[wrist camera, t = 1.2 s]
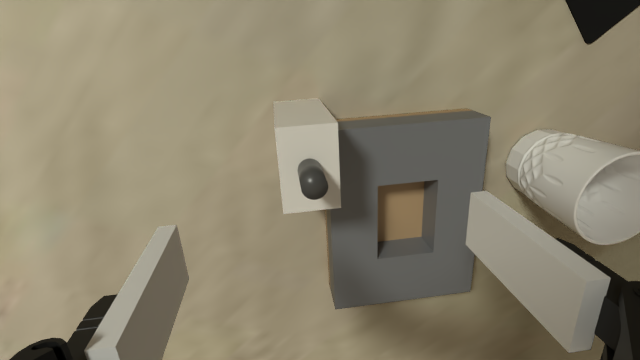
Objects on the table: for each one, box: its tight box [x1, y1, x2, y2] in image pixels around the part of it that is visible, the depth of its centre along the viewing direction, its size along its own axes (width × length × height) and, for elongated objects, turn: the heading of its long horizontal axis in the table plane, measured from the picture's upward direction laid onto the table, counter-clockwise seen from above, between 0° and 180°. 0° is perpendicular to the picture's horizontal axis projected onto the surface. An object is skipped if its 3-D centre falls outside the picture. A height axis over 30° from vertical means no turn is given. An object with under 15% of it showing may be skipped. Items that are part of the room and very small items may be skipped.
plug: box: [273, 98, 341, 214], centre depth 27 cm, size 6×4×13 cm, turn 3°
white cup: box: [506, 129, 640, 245], centre depth 33 cm, size 8×8×10 cm
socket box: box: [325, 109, 491, 309], centre depth 35 cm, size 18×14×4 cm
